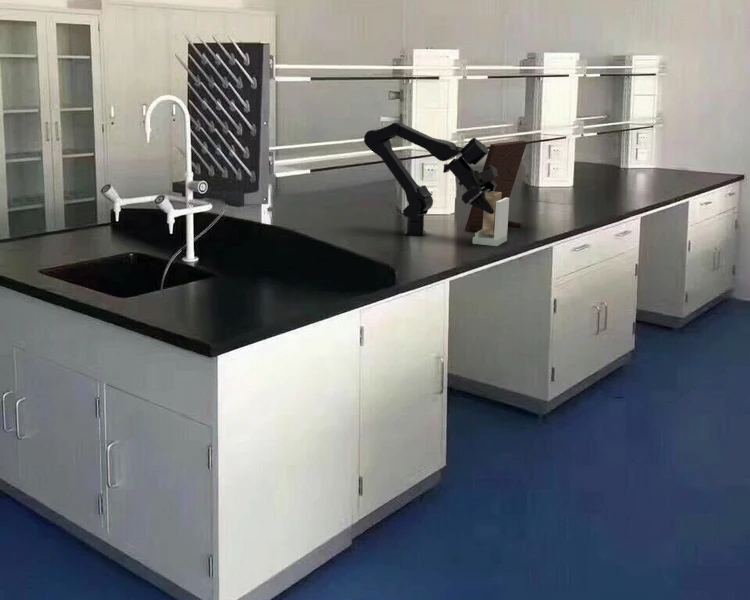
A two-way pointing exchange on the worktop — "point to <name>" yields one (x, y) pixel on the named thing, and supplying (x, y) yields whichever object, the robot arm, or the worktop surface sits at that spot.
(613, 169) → the worktop surface
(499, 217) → the picture ledge
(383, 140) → the robot arm
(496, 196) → the oak photo frame
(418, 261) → the worktop surface
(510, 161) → the picture frame
